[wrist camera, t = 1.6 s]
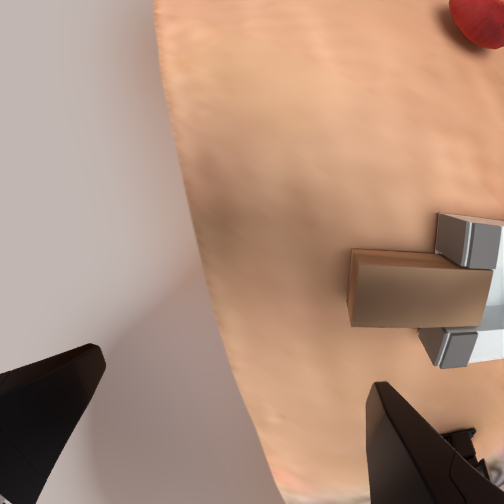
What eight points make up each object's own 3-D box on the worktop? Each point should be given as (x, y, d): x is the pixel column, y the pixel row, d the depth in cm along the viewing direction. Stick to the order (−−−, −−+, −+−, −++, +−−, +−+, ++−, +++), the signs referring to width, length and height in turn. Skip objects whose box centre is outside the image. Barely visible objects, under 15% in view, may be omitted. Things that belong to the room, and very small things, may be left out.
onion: (484, 23, 11) (520, -11, 3) (494, 69, 12) (541, 41, 5) (434, 0, 12) (460, -46, 4) (442, 45, 13) (480, 1, 6)
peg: (458, 303, 18) (479, 325, 14) (346, 301, 20) (351, 326, 16) (468, 255, 17) (493, 270, 13) (351, 249, 19) (359, 264, 15)
